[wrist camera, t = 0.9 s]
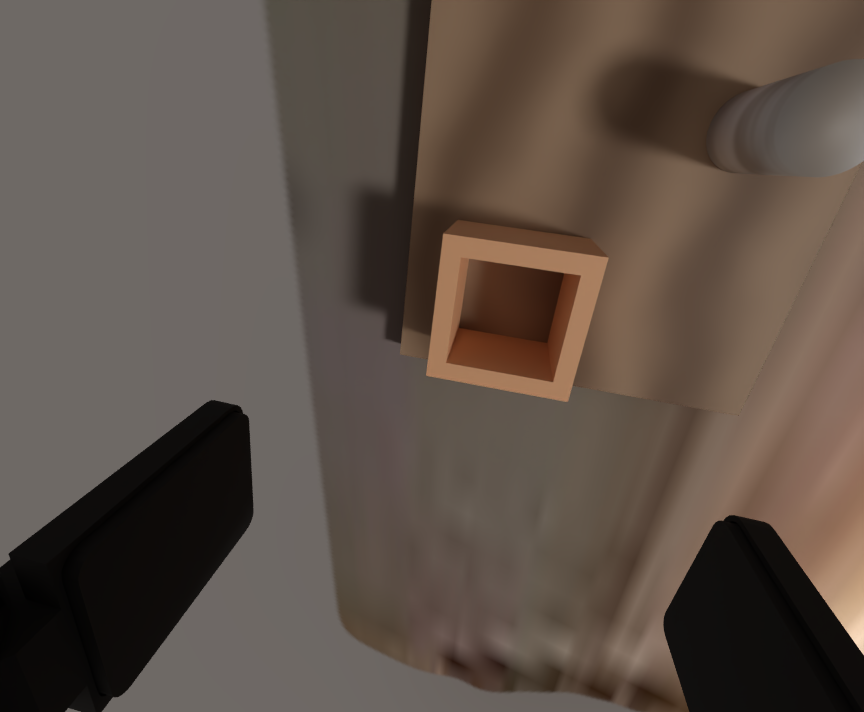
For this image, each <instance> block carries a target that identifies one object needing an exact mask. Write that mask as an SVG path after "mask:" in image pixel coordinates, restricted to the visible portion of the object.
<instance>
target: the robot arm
mask: <svg viewBox="0 0 864 712" xmlns="http://www.w3.org/2000/svg"><path fill="white" fill-rule="evenodd" d="M249 432H250V431H249V418H248V416H247V415H245V414H243V412H242V409H241V407H239V406H238V405H233V404H229V403H224V402H220V401H215V400H211V401H209V402H207V403H205V404H204V405H203V406H201V407H200V408H199V409H197V410H196V411H195V412H194V413H192V414H191V415H190V416H188V417H187V418H186V419H184V420H183V421H182V422H180V423H179V424H178V425H176V426H175V427H174V428H173V429H171V430H170V431H169V432H167V433H166V434H165V435H163V436H162V437H161V438H160V439H158V440H157V441H156V442H154V443H153V444H152V445H150V446H149V447H148V448H146V449H145V450H144V451H143V452H141V453H140V454H138V455H137V456H136V457H135V458H133V459H132V460H131V461H129V462H128V463H127V464H125V465H124V466H123V467H121V468H120V469H119V470H117V471H116V472H115V473H114V474H112V475H111V476H110V477H108V478H107V479H106V480H104V481H103V482H102V483H100V484H99V485H98V486H97V487H95V488H94V489H93V490H91V491H90V492H89V493H87V494H86V495H85V496H83V497H82V498H81V499H79V500H78V501H77V502H76V503H74V504H73V505H72V506H70V507H69V508H68V509H66V510H65V511H64V512H63V513H61V514H60V515H59V516H57V517H56V518H55V519H53V520H52V521H51V522H49V523H48V524H47V525H46V526H44V527H43V528H42V529H40V530H39V531H38V532H36V533H35V534H34V535H32V536H31V537H30V538H28V539H27V540H26V541H24V542H23V543H22V544H21V545H19V546H18V547H17V548H15V549H14V550H13V551H11V552H10V553H9V556H10V560H9V561H8V562H7V563H5V564H4V565H3V566H1V567H0V712H65V711H66V710H67V708H71V709H74V710H77V711H81V712H102V710H103V709H104V708H105V707H106V705H107V704H108V703H109V701H110V700H111V699H112V697H119V696H121V695H122V694H123V693H125V691H127V690H128V688H129V687H130V686H131V685H132V683H133V682H134V681H135V679H136V678H137V677H138V675H139V674H140V673H141V671H142V670H143V668H144V667H145V666H146V665H147V663H148V662H149V661H150V659H151V658H152V656H153V655H154V654H155V652H156V651H157V650H158V648H159V647H160V646H161V644H162V643H163V642H164V640H165V639H166V638H167V636H168V635H169V634H170V632H171V631H172V630H173V628H174V627H175V625H176V624H177V623H178V622H179V620H180V619H181V617H182V616H183V615H184V613H185V612H186V611H187V609H188V608H189V607H190V605H191V604H192V603H193V601H194V600H195V598H196V597H197V596H198V595H199V593H200V592H201V590H202V589H203V588H204V586H205V585H206V584H207V582H208V581H209V580H210V578H211V577H212V576H213V574H214V573H215V571H216V570H217V569H218V568H219V566H220V565H221V564H222V562H223V561H224V559H225V558H226V557H227V555H228V554H229V553H230V551H231V550H232V549H233V547H234V546H235V545H236V543H237V542H238V541H239V539H240V538H241V537H242V535H243V534H244V532H245V531H246V529H247V528H248V527H249V525H250V523H251V520H252V517H253V493H252V474H251V473H252V472H251V453H250V452H251V451H250V433H249ZM664 632H665V636H666V640H667V643H668V646H669V649H670V652H671V655H672V658H673V662H674V665H675V668H676V671H677V674H678V677H679V680H680V684H681V687H682V690H683V693H684V696H685V699H686V703H687V706H688V709H689V712H864V655H863V654H862V652H861V651H860V650H859V648H858V647H857V645H856V644H855V643H854V641H853V640H852V638H851V637H850V636H849V634H848V633H847V631H846V630H845V629H844V627H843V626H842V624H841V623H840V621H839V620H838V619H837V617H836V616H835V614H834V613H833V612H832V610H831V609H830V607H829V606H828V605H827V603H826V602H825V600H824V599H823V598H822V596H821V595H820V593H819V592H818V591H817V589H816V588H815V586H814V585H813V583H812V582H811V581H810V579H809V578H808V576H807V575H806V574H805V572H804V571H803V569H802V568H801V567H800V565H799V564H798V562H797V561H796V560H795V558H794V557H793V555H792V554H791V553H790V551H789V550H788V548H787V547H786V545H785V544H784V543H783V541H782V540H781V538H780V537H779V536H778V534H777V533H776V531H775V530H774V529H773V528H772V527H771V526H770V525H769V524H768V523H765V522H762V521H758V520H753V519H749V518H744V517H739V516H735V515H730V516H728V517H726V518H725V519H724V521H717V522H716V523H715V524H714V525H713V527H712V529H711V530H710V532H709V534H708V536H707V538H706V540H705V541H704V543H703V545H702V547H701V549H700V551H699V552H698V554H697V556H696V558H695V560H694V561H693V563H692V565H691V567H690V569H689V571H688V572H687V574H686V576H685V578H684V580H683V582H682V583H681V585H680V587H679V589H678V591H677V592H676V594H675V596H674V598H673V600H672V602H671V603H670V605H669V607H668V609H667V611H666V613H665V616H664Z"/></svg>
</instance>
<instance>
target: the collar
mask: <svg viewBox="0 0 864 712" xmlns="http://www.w3.org/2000/svg"><path fill="white" fill-rule="evenodd" d="M469 259H475V260H482V261H489V262H495V263H502V264H508V265H515V266H521V267H528V268H535V269H541V270H548V271H554V272H561V273H564V276H563V281H562V285H561V289H560V293H559V297H558V301H557V305H556V309H555V313H554V317H553V321H552V325H551V330H550V334H549V338H548V342H547V343H544V342H538V341H532V340H526V339H520V338H514V337H509V336H503V335H497V334H491V333H485V332H480V331H474V330H468V329H462V328H459V324H460V317H461V310H462V303H463V297H464V290H465V283H466V276H467V270H468V263H469ZM608 259H609V257H608V256H607V255H606V254H605V253H604V252H603V251H602V250H601V249H600V248H599V247H598V246H597V245H596V244H595V242H594V241H593V240H592V239H590V238H583V237H575V236H568V235H561V234H554V233H547V232H540V231H533V230H526V229H519V228H512V227H505V226H498V225H491V224H484V223H477V222H470V221H463V220H457V221H456V222H455V223H454V224H453V225H452V226H451V227H450V228H449V229H448V230H447V231H445V232H444V233H443V240H442V248H441V257H440V265H439V273H438V282H437V290H436V298H435V307H434V315H433V323H432V332H431V340H430V348H429V357H428V365H427V373H426V376H431V377H436V378H442V379H447V380H452V381H458V382H463V383H468V384H474V385H479V386H484V387H490V388H495V389H501V390H506V391H511V392H517V393H522V394H527V395H533V396H538V397H543V398H549V399H554V400H560V401H565V402H568V399H569V396H570V392H571V389H572V385H573V382H574V378H575V375H576V371H577V368H578V364H579V361H580V357H581V354H582V350H583V347H584V343H585V340H586V336H587V333H588V329H589V325H590V322H591V318H592V315H593V311H594V308H595V304H596V301H597V297H598V294H599V290H600V287H601V283H602V280H603V276H604V273H605V269H606V266H607V262H608Z"/></svg>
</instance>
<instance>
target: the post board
mask: <svg viewBox="0 0 864 712" xmlns="http://www.w3.org/2000/svg"><path fill="white" fill-rule="evenodd" d="M863 161H864V0H432V3H431V14H430V25H429V37H428V48H427V59H426V70H425V81H424V93H423V104H422V115H421V126H420V137H419V148H418V160H417V171H416V182H415V193H414V204H413V216H412V227H411V238H410V249H409V260H408V272H407V283H406V294H405V305H404V316H403V328H402V339H401V350H400V354H401V355H407V356H412V357H418V358H423V359H428V357H429V348H430V340H431V332H432V323H433V315H434V307H435V298H436V290H437V282H438V273H439V265H440V257H441V248H442V240H443V233H444V232H445V231H447V230H448V229H449V228H450V227H451V226H452V225H453V224H454V223H455V222H456V221H457V220H463V221H470V222H477V223H484V224H491V225H498V226H505V227H512V228H519V229H526V230H533V231H540V232H547V233H554V234H561V235H568V236H575V237H583V238H590V239H592V240H593V241H594V242H595V244H596V245H597V246H598V247H599V248H600V249H601V250H602V251H603V252H604V253H605V254H606V255H607V256H608V257H609V259H608V262H607V266H606V269H605V273H604V276H603V280H602V283H601V287H600V290H599V294H598V297H597V301H596V304H595V308H594V311H593V315H592V318H591V322H590V325H589V329H588V333H587V336H586V340H585V343H584V347H583V350H582V354H581V357H580V361H579V364H578V368H577V371H576V375H575V378H574V382H573V385H572V386H577V387H583V388H588V389H594V390H599V391H605V392H610V393H616V394H621V395H627V396H632V397H638V398H643V399H649V400H654V401H660V402H665V403H671V404H676V405H682V406H687V407H693V408H698V409H704V410H709V411H715V412H720V413H726V414H731V415H737V416H739V414H740V412H741V410H742V408H743V406H744V404H745V402H746V400H747V398H748V396H749V394H750V392H751V390H752V388H753V386H754V384H755V382H756V380H757V377H758V375H759V373H760V371H761V369H762V367H763V365H764V363H765V361H766V359H767V357H768V355H769V353H770V351H771V349H772V347H773V345H774V343H775V340H776V338H777V336H778V334H779V332H780V330H781V328H782V326H783V324H784V322H785V320H786V318H787V316H788V314H789V312H790V310H791V308H792V306H793V304H794V301H795V299H796V297H797V295H798V293H799V291H800V289H801V287H802V285H803V283H804V281H805V279H806V277H807V275H808V273H809V271H810V269H811V267H812V264H813V262H814V260H815V258H816V256H817V254H818V252H819V250H820V248H821V246H822V244H823V242H824V240H825V238H826V236H827V234H828V232H829V230H830V227H831V225H832V223H833V221H834V219H835V217H836V215H837V213H838V211H839V209H840V207H841V205H842V203H843V201H844V199H845V197H846V195H847V193H848V190H849V188H850V186H851V184H852V182H853V180H854V178H855V176H856V174H857V172H858V170H859V168H860V166H861V164H862V162H863ZM563 276H564V273H561V272H554V271H548V270H541V269H535V268H528V267H521V266H515V265H508V264H502V263H495V262H489V261H482V260H475V259H469V263H468V270H467V276H466V283H465V290H464V297H463V303H462V310H461V317H460V324H459V328H462V329H468V330H474V331H480V332H485V333H491V334H497V335H503V336H509V337H514V338H520V339H526V340H532V341H538V342H544V343H547V342H548V338H549V334H550V330H551V325H552V321H553V317H554V313H555V309H556V305H557V301H558V297H559V293H560V289H561V285H562V281H563Z"/></svg>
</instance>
